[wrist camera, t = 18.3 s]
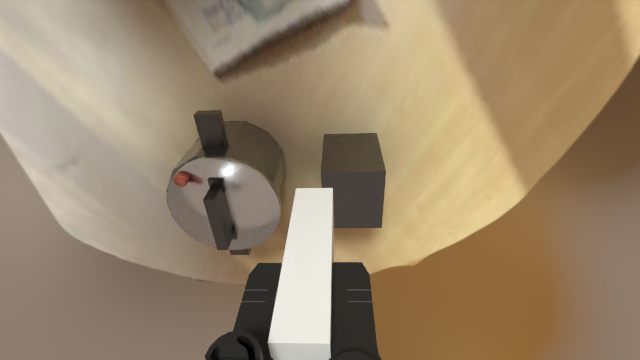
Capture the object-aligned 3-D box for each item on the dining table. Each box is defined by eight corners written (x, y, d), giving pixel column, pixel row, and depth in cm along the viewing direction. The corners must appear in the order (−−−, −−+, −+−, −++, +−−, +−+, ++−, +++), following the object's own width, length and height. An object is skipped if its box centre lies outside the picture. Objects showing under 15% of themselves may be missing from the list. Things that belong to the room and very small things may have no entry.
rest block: (324, 134, 44) (321, 172, 36) (376, 133, 44) (385, 171, 36) (326, 184, 48) (323, 227, 40) (373, 183, 48) (381, 227, 40)
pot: (179, 92, 42) (141, 122, 34) (275, 89, 41) (260, 119, 33) (214, 218, 53) (192, 263, 45) (290, 217, 52) (282, 263, 44)
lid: (155, 156, 35) (136, 175, 32) (274, 154, 35) (268, 173, 31) (186, 244, 42) (174, 268, 39) (286, 244, 42) (282, 268, 38)
